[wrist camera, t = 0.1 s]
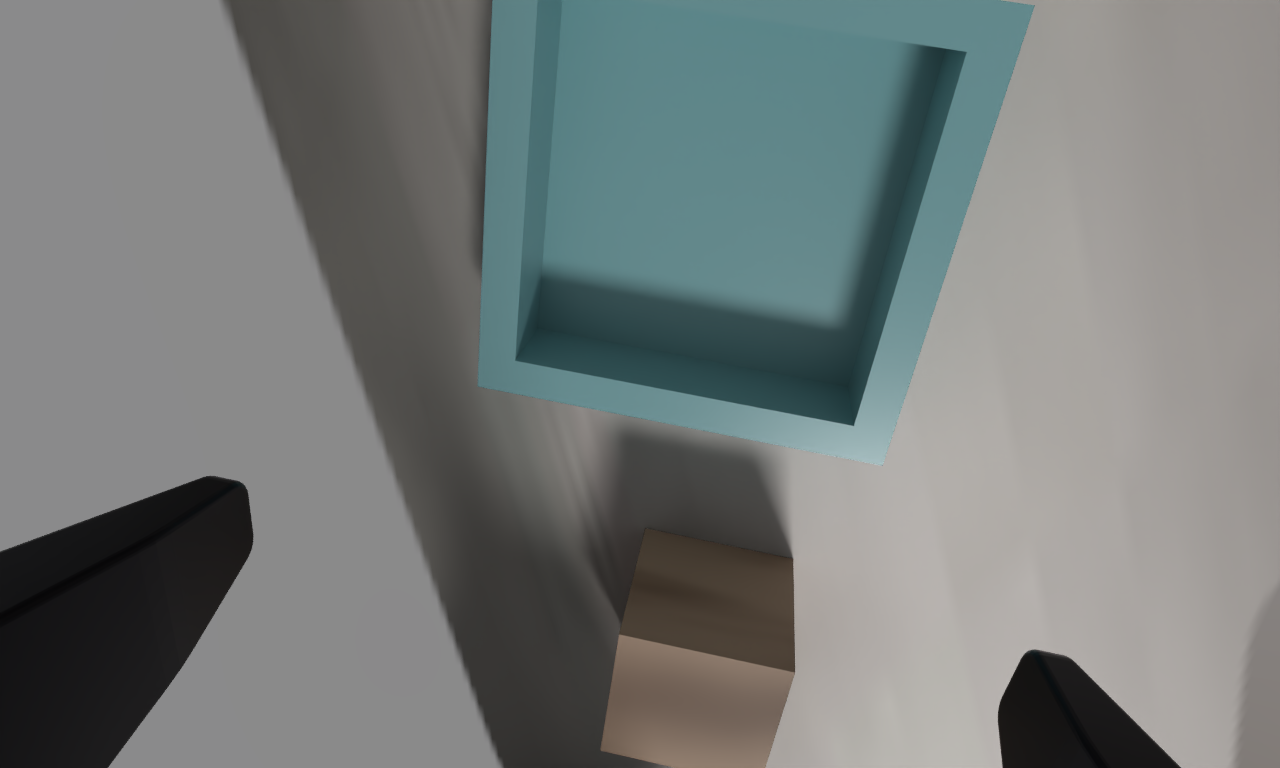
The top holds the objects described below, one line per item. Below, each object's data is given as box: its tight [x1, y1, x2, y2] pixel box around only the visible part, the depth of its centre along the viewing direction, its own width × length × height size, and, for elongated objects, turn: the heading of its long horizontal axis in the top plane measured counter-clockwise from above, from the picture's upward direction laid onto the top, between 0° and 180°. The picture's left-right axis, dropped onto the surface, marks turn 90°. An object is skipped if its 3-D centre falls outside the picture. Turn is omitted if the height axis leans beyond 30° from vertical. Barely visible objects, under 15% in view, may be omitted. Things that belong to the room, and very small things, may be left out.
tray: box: [478, 0, 1035, 466], centre depth 20 cm, size 11×11×3 cm
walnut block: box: [600, 528, 795, 768], centre depth 26 cm, size 5×5×5 cm
